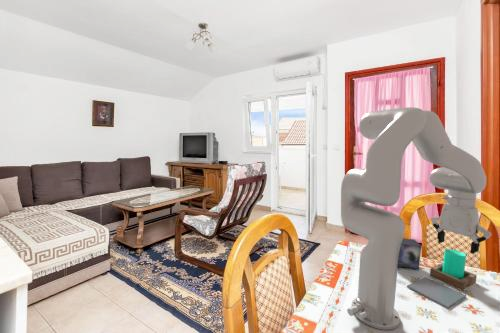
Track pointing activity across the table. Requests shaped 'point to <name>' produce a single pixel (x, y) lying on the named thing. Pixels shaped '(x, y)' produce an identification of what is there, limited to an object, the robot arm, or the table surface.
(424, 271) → the table surface
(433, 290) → the slate mat
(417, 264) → the small box
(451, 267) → the candle
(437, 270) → the holder
